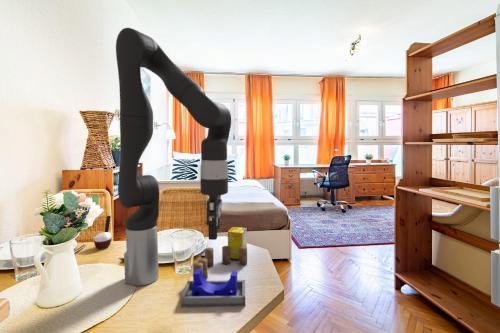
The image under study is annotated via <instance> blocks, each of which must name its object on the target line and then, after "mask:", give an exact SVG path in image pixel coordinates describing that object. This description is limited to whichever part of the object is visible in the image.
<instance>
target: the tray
mask: <svg viewBox="0 0 500 333" xmlns="http://www.w3.org/2000/svg"><path fill="white" fill-rule="evenodd" d="M228 280H229V279H228ZM228 280H227V279H226V280H207V281H208V282H210V283H211V284H215V285H221V284H224V283H226V282H227V281H228ZM193 284H194V281H193V280H187V283H186V285H185V288H184V290H183V292H182V296H181V298H180V300H181V301H180V302H181V305H180V306H181V308H203V307H204V308H206V307H207V308H209V307H212V308H214V307H220V308H221V307H246V280H245V279H244V280H243V279H242V280H238V279H237V294H236V296H216V295H215V296H192V286H193Z"/></svg>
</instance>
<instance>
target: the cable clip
mask: <svg viewBox="0 0 500 333" xmlns="http://www.w3.org/2000/svg"><path fill="white" fill-rule="evenodd" d="M237 280H238V270H232V271H231V273H230V276H229V279H228V281H227V280H226V281H227V282H226V283H224V284H221V285H215V284H211V283H210V282H208V281H209V280H208V279H205V278H204V276H203V274H202V269H196V271H195V272H194V284H193V286H192V296H215V295H216V296H236V294H237Z"/></svg>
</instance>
